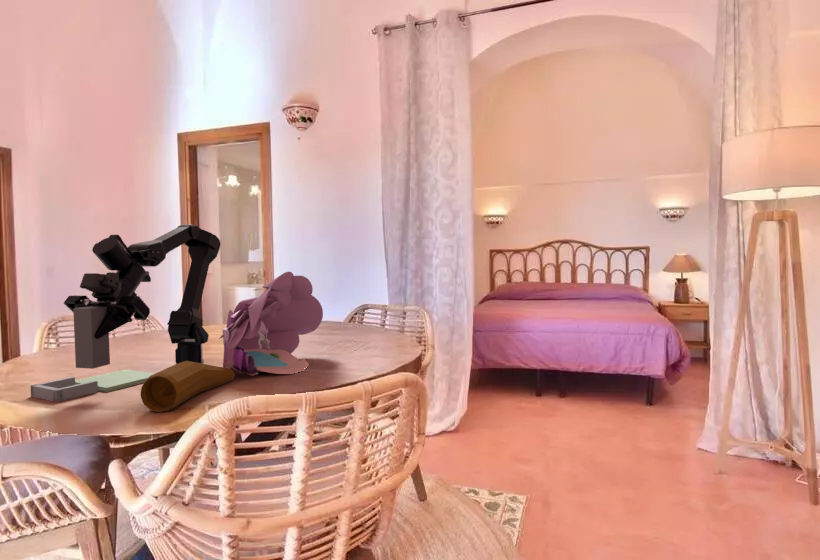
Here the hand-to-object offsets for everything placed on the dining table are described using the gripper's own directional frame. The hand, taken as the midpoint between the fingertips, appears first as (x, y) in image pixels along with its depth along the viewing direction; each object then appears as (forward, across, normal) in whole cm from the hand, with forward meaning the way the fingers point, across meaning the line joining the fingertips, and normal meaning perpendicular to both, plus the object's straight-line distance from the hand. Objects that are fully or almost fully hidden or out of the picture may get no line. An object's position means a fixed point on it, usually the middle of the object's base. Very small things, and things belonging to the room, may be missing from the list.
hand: (86, 337), depth 107 cm
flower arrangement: (-14, +26, +34) cm, 45 cm away
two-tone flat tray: (+3, -6, +16) cm, 17 cm away
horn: (+6, +21, +14) cm, 26 cm away
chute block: (+4, 0, +6) cm, 7 cm away
